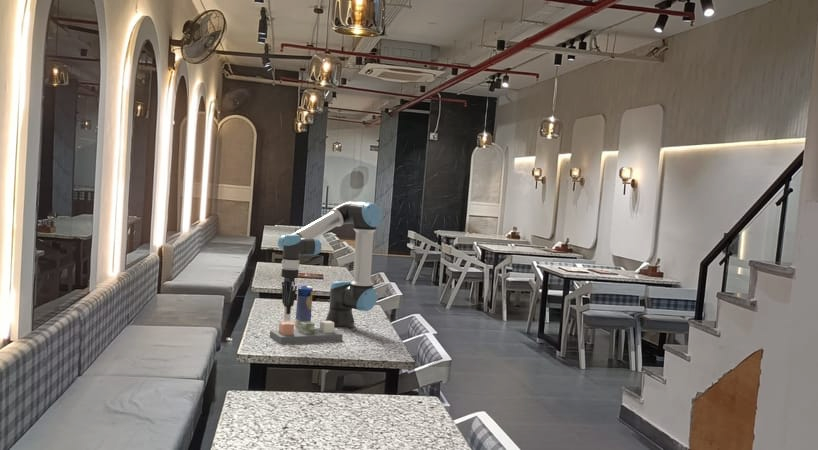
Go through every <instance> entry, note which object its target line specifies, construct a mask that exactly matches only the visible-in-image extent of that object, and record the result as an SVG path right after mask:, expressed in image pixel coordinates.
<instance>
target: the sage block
mask: <svg viewBox="0 0 818 450" xmlns="http://www.w3.org/2000/svg"><path fill="white" fill-rule="evenodd" d="M314 329H315V323H314V322H313V321H311V322H310V321H309V322H300V333H302V334H314Z"/></svg>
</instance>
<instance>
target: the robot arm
mask: <svg viewBox="0 0 818 450" xmlns="http://www.w3.org/2000/svg"><path fill="white" fill-rule="evenodd" d="M382 220H383V212H382V209H381V208H380V207H379V205H378V204H377V203H374V202H369V201H357V200H349V201H346V202H343V203H342V204H341V203H340V204H339V205H336V206H335V207H333V208H332V209H331V208H330V211H329V212H328V213H326V214H325V215H324V216H323V215H322V216H321V217H319V218H318V219H316V220H315V221H312V222H311V223H309V224H307V225H305V226H304V227H302V228H300V229H298V230H297V231H295V232H293V233H288V234H282V235H281V236H280V237H279V238H278V240H277V245H278V246H277V247H278V248H279V249H280V250H281V251H282V261H281V267H282V269H281V273H280V274H281V275H280V276H281V278H284V279H283V281H281V295H282V296H281V297H282V299H281V302H282V305H283V317H282V318H283V321H284V322H291V314H292V313H291V310H292V307H294V304H295V297H296V294H297V293H296V292H297V290H298V285H296V281H295V280H296V279H298V278H299V272H300V270H299V268H300V256H315V255H316V256H317V255H319V254H320V252H321V251H322V243H321V241H320V240H319V237H321V236H322V235H324V234H325V233H327V232H330V231H331V230H333V229H334V228H336V227H342V226H343V225H346V224H347V225H348V224H349V225H351V224H352V229H353V230H354V233H355V240H354V242H355V243H354V260H353V261H354V264H353V279H352V280H342V281H341V280H340V281H333V282H331V284H330V291H329V292H330V293H329V307H328V309H329V310H328V312H327V314H326V318H325V320H324V321H332V322H334V329H336V328H339V329H340V328H348V329H353V328H355V319H354V318H355V317H354V313H353V309H354V310H357V311H360V312H368V311H371V310H372V309H373V308H374V307H375V306H376V304H377V302H378V298H379V297H378V296H379V295H378V292H377V291H376V289H374V283H373V281H372V280H371V279H372V278H371V277H372V261H373V244H374V243H373V242H374V232H376V231H377V227H378V226H380V224H381V223H382ZM283 321H282V322H283Z"/></svg>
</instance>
